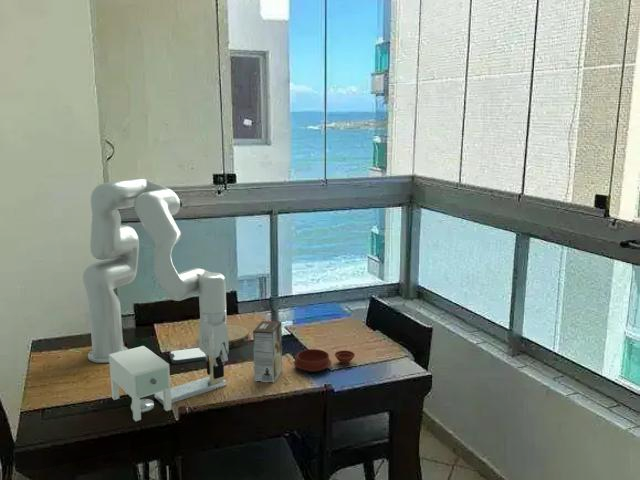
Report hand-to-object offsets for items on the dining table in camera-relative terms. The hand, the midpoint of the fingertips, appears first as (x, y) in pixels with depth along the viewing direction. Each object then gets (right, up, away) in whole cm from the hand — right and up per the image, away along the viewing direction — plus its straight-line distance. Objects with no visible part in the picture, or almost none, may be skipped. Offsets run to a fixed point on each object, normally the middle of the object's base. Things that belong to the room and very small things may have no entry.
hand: (215, 374), depth 173 cm
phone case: (-10, +1, +21) cm, 23 cm away
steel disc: (-17, -6, -13) cm, 23 cm away
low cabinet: (-18, -5, -12) cm, 22 cm away
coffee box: (+15, -2, +6) cm, 16 cm away
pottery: (+32, -1, +13) cm, 35 cm away
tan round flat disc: (-3, +4, +35) cm, 35 cm away
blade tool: (-6, -4, -4) cm, 8 cm away
